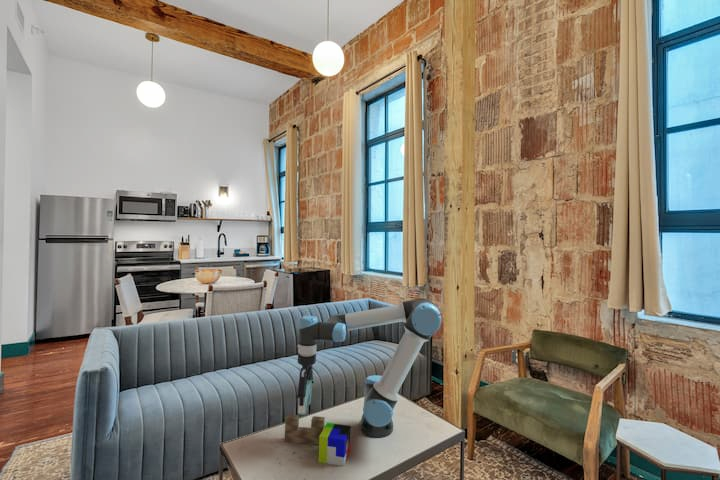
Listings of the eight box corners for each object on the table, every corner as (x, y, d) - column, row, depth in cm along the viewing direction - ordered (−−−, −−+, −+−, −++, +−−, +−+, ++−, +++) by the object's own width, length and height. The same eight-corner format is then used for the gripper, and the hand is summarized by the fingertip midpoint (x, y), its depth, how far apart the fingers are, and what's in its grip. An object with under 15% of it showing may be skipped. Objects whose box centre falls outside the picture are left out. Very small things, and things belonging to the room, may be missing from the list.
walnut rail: (323, 440, 147) (324, 417, 147) (322, 444, 144) (323, 420, 144) (286, 437, 148) (287, 414, 148) (284, 441, 145) (285, 418, 145)
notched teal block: (304, 401, 152) (305, 378, 152) (310, 402, 152) (311, 379, 151) (297, 414, 141) (298, 389, 141) (305, 414, 141) (306, 390, 140)
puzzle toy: (343, 466, 132) (344, 440, 131) (318, 461, 134) (319, 436, 133) (349, 450, 141) (350, 425, 141) (326, 446, 143) (327, 422, 143)
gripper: (304, 344, 158) (302, 392, 158) (290, 363, 134) (288, 419, 135) (321, 345, 157) (318, 393, 158) (309, 364, 134) (307, 421, 134)
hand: (304, 405), depth 146 cm, fingers closed on notched teal block, 11 cm apart
